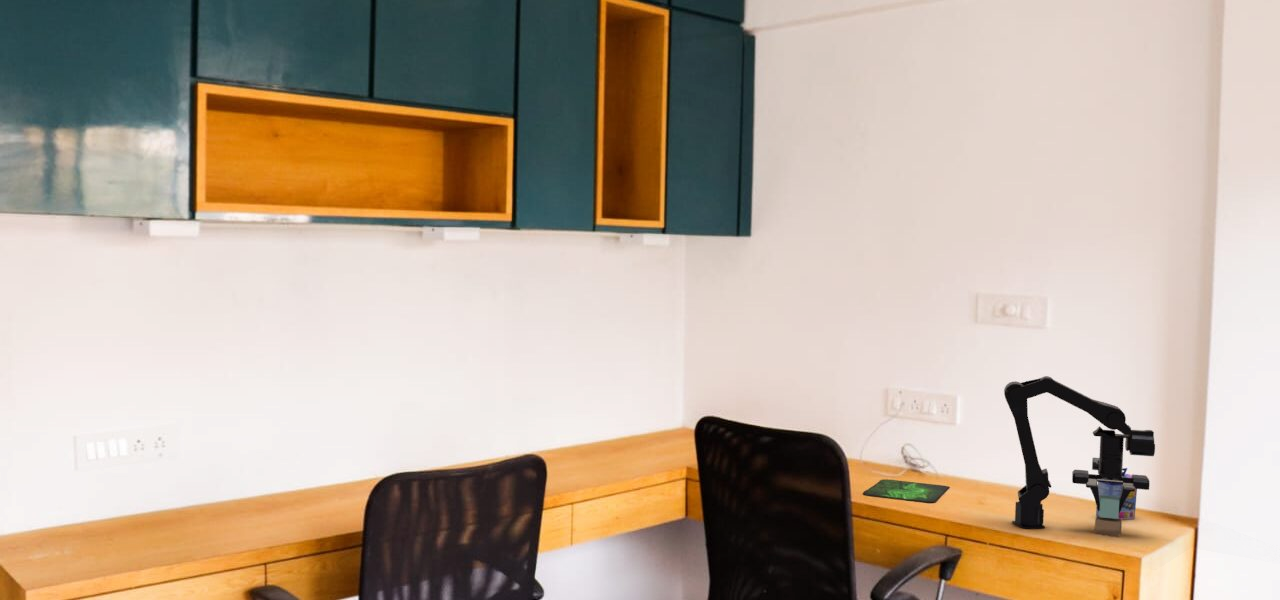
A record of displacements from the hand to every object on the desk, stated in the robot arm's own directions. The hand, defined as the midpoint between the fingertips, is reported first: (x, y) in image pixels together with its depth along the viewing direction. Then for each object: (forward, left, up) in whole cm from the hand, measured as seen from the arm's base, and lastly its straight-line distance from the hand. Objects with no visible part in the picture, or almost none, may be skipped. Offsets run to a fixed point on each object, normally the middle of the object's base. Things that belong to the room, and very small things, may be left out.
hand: (1108, 511), depth 292 cm
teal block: (0, 0, -1) cm, 1 cm away
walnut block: (0, 0, -6) cm, 6 cm away
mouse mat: (-34, +53, -6) cm, 63 cm away
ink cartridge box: (+12, +15, -6) cm, 20 cm away
